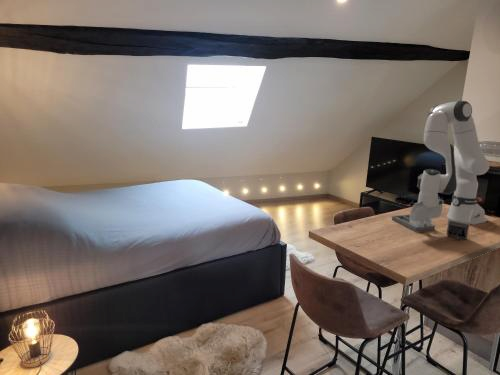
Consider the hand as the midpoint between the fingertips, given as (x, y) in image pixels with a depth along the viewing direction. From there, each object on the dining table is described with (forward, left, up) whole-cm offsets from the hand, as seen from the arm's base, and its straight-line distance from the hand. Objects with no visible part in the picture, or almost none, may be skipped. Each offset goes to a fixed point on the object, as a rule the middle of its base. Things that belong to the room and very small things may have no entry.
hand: (423, 226), depth 189 cm
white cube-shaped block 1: (-6, -6, -2) cm, 8 cm away
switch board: (-3, -11, -3) cm, 12 cm away
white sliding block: (0, -6, -2) cm, 6 cm away
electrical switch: (-12, +10, -4) cm, 16 cm away
